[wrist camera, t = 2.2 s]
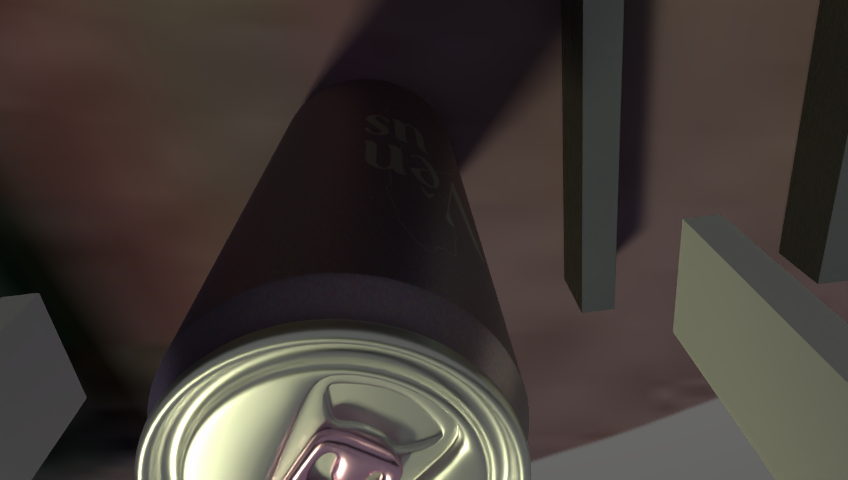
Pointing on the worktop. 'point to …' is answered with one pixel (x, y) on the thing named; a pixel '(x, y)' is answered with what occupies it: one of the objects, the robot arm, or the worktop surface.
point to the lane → (600, 142)
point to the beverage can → (345, 318)
